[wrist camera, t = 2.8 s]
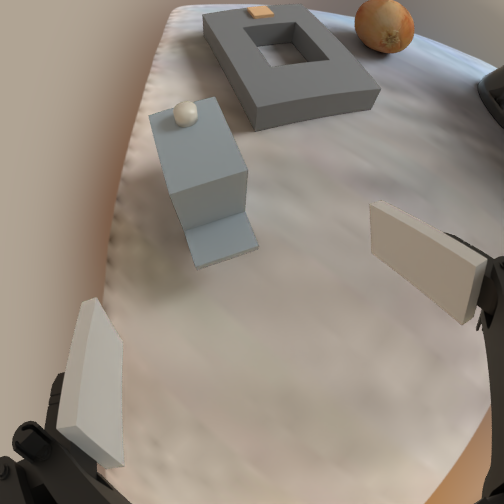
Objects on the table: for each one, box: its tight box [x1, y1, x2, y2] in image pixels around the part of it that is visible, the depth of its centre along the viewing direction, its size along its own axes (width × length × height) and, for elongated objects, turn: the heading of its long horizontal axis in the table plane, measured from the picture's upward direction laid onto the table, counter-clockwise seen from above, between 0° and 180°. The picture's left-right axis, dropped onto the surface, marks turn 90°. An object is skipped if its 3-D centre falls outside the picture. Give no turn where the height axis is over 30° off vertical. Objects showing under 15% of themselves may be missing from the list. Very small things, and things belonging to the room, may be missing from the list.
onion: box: [355, 0, 414, 53], centre depth 36 cm, size 10×10×10 cm
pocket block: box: [202, 4, 381, 132], centre depth 35 cm, size 22×16×5 cm
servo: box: [149, 97, 259, 270], centre depth 24 cm, size 13×5×12 cm, turn 20°
